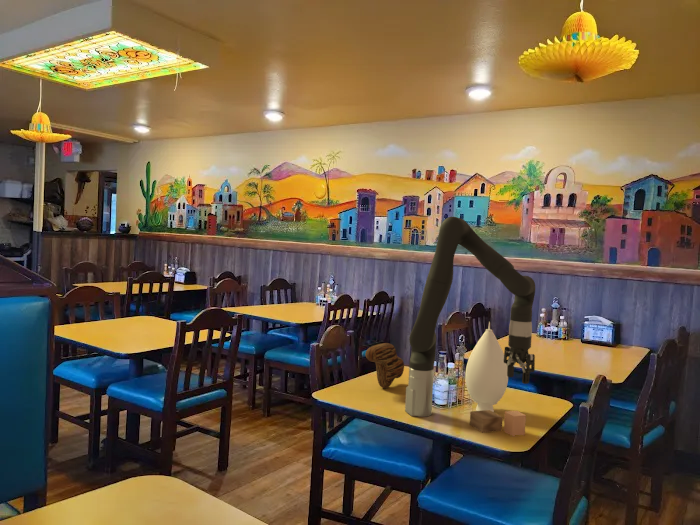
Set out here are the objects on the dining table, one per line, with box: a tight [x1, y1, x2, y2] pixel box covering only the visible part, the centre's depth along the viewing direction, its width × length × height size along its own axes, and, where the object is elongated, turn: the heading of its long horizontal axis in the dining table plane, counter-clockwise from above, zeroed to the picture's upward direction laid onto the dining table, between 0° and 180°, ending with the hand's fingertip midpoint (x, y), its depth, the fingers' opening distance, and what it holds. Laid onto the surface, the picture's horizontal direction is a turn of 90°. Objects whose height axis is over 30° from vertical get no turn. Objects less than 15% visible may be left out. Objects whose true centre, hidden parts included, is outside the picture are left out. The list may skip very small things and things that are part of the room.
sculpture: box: [364, 342, 405, 389], centre depth 238 cm, size 26×8×20 cm, turn 145°
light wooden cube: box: [503, 410, 527, 437], centre depth 190 cm, size 5×5×7 cm
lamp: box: [464, 321, 509, 413], centre depth 213 cm, size 16×16×35 cm
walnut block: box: [469, 410, 504, 433], centre depth 195 cm, size 8×8×5 cm
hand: (517, 380), depth 190 cm, fingers open, 8 cm apart
